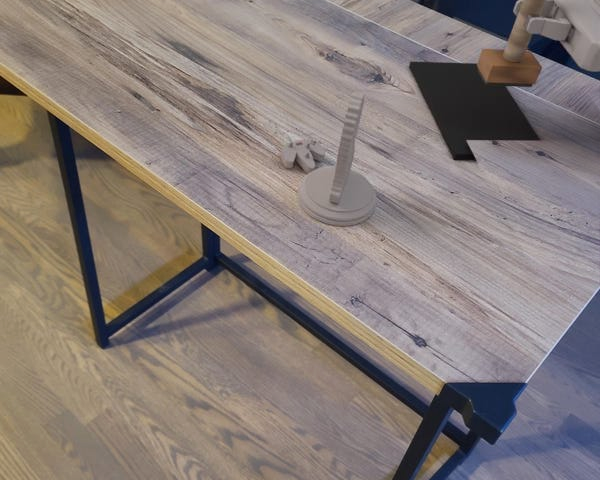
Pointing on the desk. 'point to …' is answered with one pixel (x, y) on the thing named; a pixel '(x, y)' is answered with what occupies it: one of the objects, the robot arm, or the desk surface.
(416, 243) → the desk surface
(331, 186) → the grey upright stand
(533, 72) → the wooden peg stand
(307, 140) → the game controller
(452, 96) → the notched black mat
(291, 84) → the desk surface
